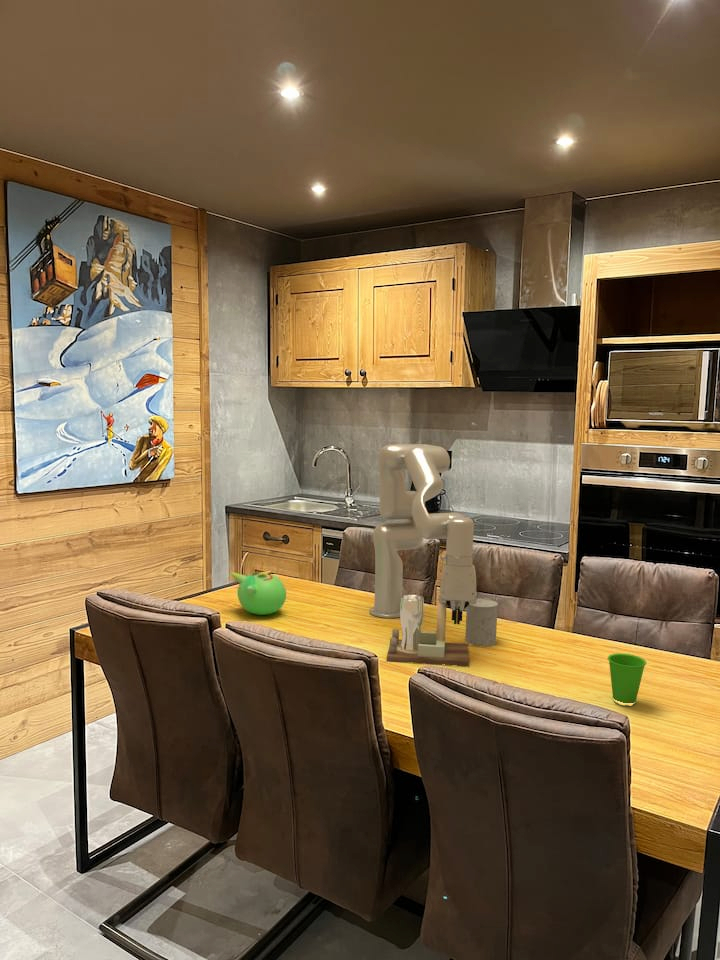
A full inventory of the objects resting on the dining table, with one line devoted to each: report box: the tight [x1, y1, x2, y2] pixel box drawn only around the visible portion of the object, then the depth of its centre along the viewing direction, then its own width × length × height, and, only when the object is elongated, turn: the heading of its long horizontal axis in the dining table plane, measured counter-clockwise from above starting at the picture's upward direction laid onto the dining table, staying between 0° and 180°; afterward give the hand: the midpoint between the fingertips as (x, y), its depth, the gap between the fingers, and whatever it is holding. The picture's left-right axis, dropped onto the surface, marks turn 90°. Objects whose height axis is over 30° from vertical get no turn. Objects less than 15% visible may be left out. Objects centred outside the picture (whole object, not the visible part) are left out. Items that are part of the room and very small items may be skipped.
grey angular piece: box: [418, 601, 447, 658], centre depth 211 cm, size 13×8×14 cm, turn 172°
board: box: [386, 628, 470, 667], centre depth 212 cm, size 15×23×6 cm, turn 82°
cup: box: [607, 652, 647, 703], centre depth 180 cm, size 9×9×11 cm
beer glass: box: [399, 594, 425, 651], centre depth 212 cm, size 7×7×15 cm
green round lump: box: [229, 570, 287, 616], centre depth 248 cm, size 18×17×15 cm
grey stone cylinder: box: [464, 597, 499, 648], centre depth 224 cm, size 10×10×12 cm
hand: (456, 622), depth 210 cm, fingers closed
